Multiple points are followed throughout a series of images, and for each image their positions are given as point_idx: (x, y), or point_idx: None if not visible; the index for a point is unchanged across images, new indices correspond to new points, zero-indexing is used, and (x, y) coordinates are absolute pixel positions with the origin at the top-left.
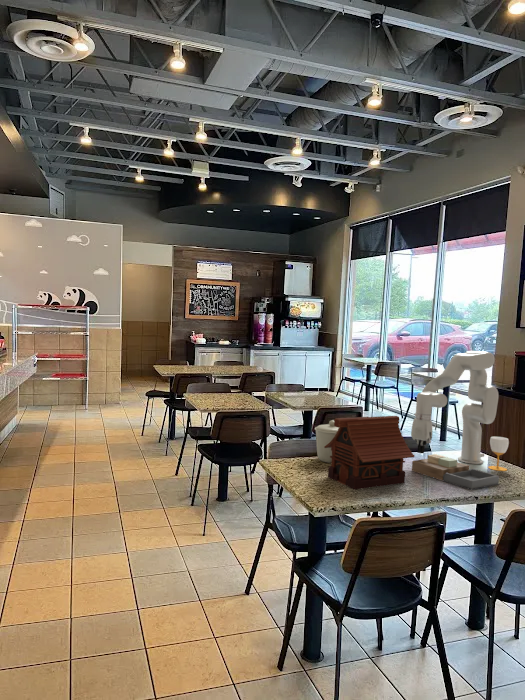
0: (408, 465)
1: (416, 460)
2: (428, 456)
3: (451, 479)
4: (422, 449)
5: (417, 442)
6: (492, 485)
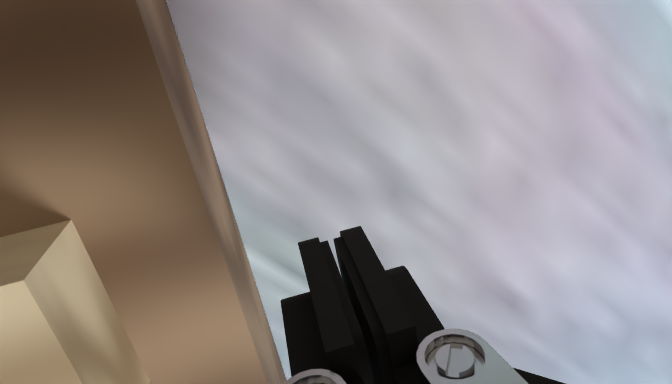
0: (413, 93)
1: (136, 31)
2: (11, 271)
3: None
4: (285, 333)
5: (481, 379)
6: None
